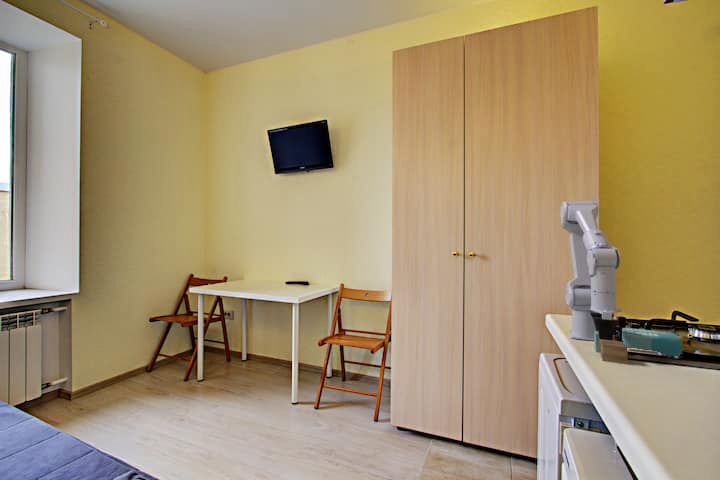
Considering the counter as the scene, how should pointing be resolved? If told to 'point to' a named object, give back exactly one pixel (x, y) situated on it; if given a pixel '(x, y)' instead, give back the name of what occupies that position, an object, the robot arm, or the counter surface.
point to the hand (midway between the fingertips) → (604, 341)
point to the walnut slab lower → (614, 358)
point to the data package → (652, 341)
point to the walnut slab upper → (613, 347)
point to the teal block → (596, 341)
